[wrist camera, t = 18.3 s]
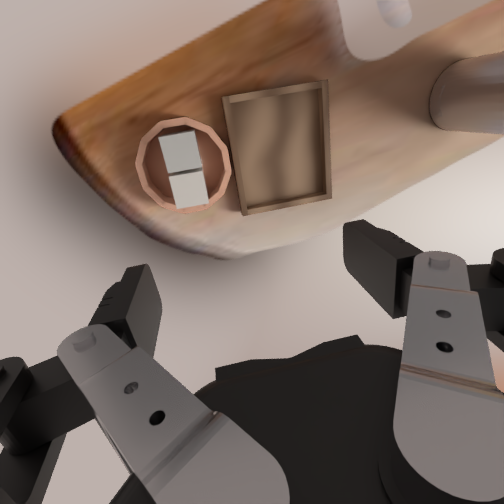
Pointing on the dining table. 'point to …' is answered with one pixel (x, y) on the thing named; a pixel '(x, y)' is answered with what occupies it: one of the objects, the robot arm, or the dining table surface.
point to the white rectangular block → (189, 188)
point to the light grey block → (180, 150)
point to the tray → (280, 146)
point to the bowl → (157, 175)
